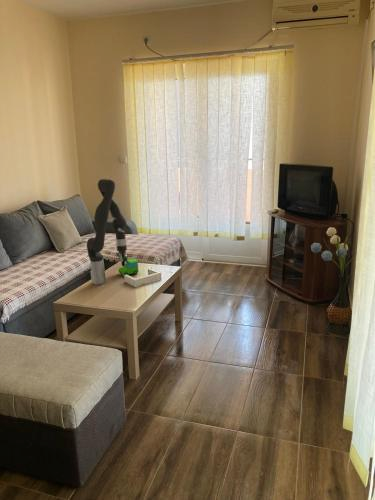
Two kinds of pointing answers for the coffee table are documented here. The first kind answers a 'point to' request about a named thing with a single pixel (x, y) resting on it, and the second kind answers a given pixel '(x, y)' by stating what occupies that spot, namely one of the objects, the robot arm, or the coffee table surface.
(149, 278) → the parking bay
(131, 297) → the coffee table surface
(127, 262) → the toy car
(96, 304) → the coffee table surface
